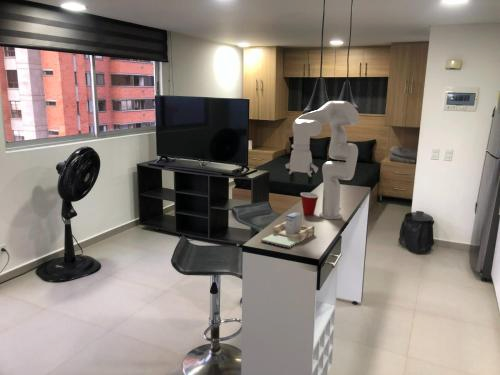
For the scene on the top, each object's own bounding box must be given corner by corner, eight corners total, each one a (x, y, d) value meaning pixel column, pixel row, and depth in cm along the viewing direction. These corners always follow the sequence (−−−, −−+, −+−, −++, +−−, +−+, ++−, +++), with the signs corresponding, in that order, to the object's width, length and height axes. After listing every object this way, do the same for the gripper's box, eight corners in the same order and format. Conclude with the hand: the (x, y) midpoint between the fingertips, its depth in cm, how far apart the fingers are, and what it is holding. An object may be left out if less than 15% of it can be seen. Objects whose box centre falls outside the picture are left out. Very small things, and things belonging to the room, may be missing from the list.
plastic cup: (318, 217, 230) (319, 196, 228) (298, 216, 233) (299, 195, 230) (318, 212, 241) (319, 192, 238) (300, 211, 243) (301, 191, 240)
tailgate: (272, 233, 197) (260, 239, 189) (300, 239, 189) (288, 246, 180) (272, 236, 197) (260, 241, 189) (300, 242, 189) (288, 248, 180)
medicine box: (293, 228, 202) (293, 212, 201) (301, 230, 200) (302, 213, 198) (285, 232, 196) (285, 215, 194) (293, 234, 194) (293, 217, 192)
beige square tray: (287, 229, 209) (287, 220, 208) (314, 234, 200) (314, 225, 199) (272, 236, 197) (272, 227, 197) (300, 242, 189) (300, 233, 188)
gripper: (281, 147, 196) (281, 182, 200) (314, 150, 186) (313, 186, 190) (289, 145, 202) (289, 179, 206) (321, 148, 192) (320, 183, 196)
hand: (301, 182), depth 198 cm, fingers open, 9 cm apart
